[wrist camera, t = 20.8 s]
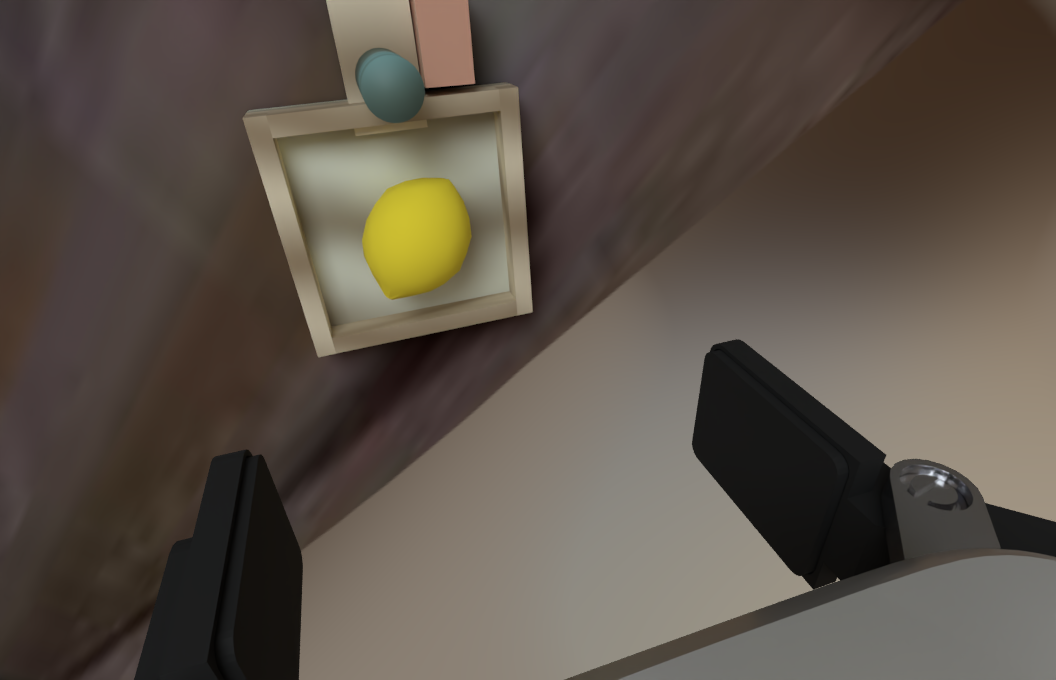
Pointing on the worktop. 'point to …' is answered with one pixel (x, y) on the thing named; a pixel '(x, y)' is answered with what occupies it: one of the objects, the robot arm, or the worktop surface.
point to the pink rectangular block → (443, 42)
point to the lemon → (416, 236)
